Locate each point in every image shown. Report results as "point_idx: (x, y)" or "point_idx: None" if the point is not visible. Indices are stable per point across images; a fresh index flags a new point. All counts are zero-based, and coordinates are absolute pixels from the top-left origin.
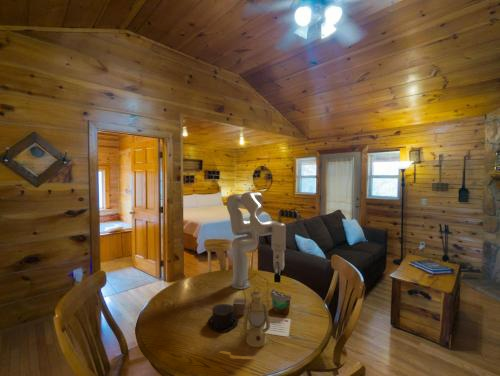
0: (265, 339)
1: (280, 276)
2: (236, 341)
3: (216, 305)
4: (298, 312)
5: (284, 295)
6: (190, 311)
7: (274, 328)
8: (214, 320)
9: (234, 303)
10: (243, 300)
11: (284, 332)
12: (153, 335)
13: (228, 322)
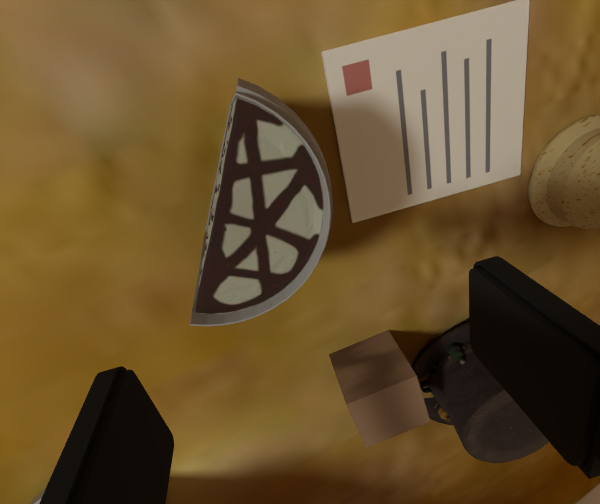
0: (595, 126)
1: (588, 327)
2: (595, 250)
3: (496, 460)
4: (179, 18)
5: (249, 169)
6: (437, 492)
7: (467, 124)
8: None
9: (426, 417)
10: (374, 402)
11: (493, 41)
12: None
13: None
